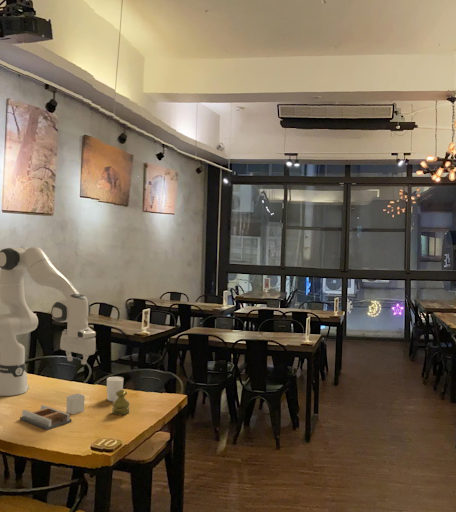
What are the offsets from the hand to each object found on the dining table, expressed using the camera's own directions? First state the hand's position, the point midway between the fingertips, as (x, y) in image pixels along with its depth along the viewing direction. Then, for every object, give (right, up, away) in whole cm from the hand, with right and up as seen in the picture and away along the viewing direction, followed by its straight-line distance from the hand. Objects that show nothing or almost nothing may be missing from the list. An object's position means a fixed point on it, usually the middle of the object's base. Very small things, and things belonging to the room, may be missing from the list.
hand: (76, 362), depth 214 cm
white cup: (+12, -22, +19) cm, 32 cm away
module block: (-1, -22, 0) cm, 22 cm away
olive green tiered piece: (+19, -23, +1) cm, 30 cm away
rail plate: (-9, -22, -12) cm, 26 cm away
